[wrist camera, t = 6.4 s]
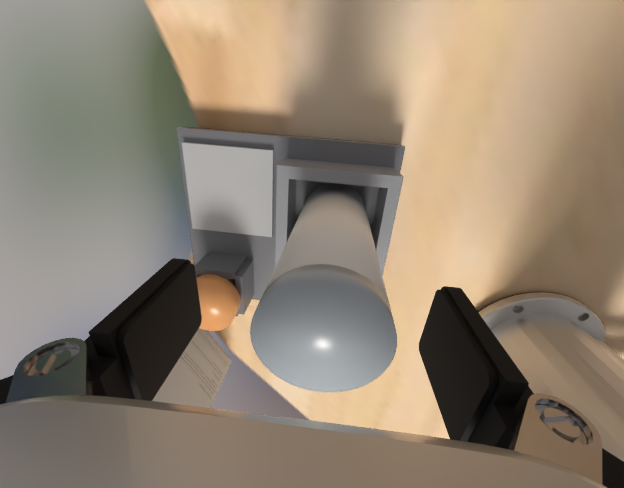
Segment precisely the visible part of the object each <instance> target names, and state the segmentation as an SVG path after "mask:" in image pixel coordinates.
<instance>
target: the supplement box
mask: <svg viewBox="0 0 624 488" xmlns="http://www.w3.org/2000/svg"><path fill="white" fill-rule="evenodd" d="M230 363H231V360H230V359H229V357H228V356H227V355H226V354H225V352H224V351H223V350H222V349H221V347H220V346H219V345H218V344H217V342H216V341H215V340H214V339H213V337H212V336H211V335H210V333H209V332H208V331H207V330H203V329H200V328H199V329H198V330H197V332H196V333H195V335H194V336H193V338H192V340H191V341H190V343H189V344H188V346H187V347H186V349H185V350H184V352H183V354H182V355H181V357H180V358H179V360H178V361H177V363H176V364H175V366H174V368H173V369H172V371H171V372H170V374H169V375H168V377H167V378H166V380H165V382H164V383H163V385H162V386H161V388H160V389H159V391H158V392H157V394H156V395H155V397H154V399H153V400H152V401H156V402H165V403H173V404H181V405H189V406H198V407H206V408H211V406H212V404H213V401H214V399H215V397H216V395H217V392H218V390H219V388H220V386H221V384H222V381H223V379H224V377H225V374H226V372H227V370H228V368H229V366H230Z"/></svg>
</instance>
